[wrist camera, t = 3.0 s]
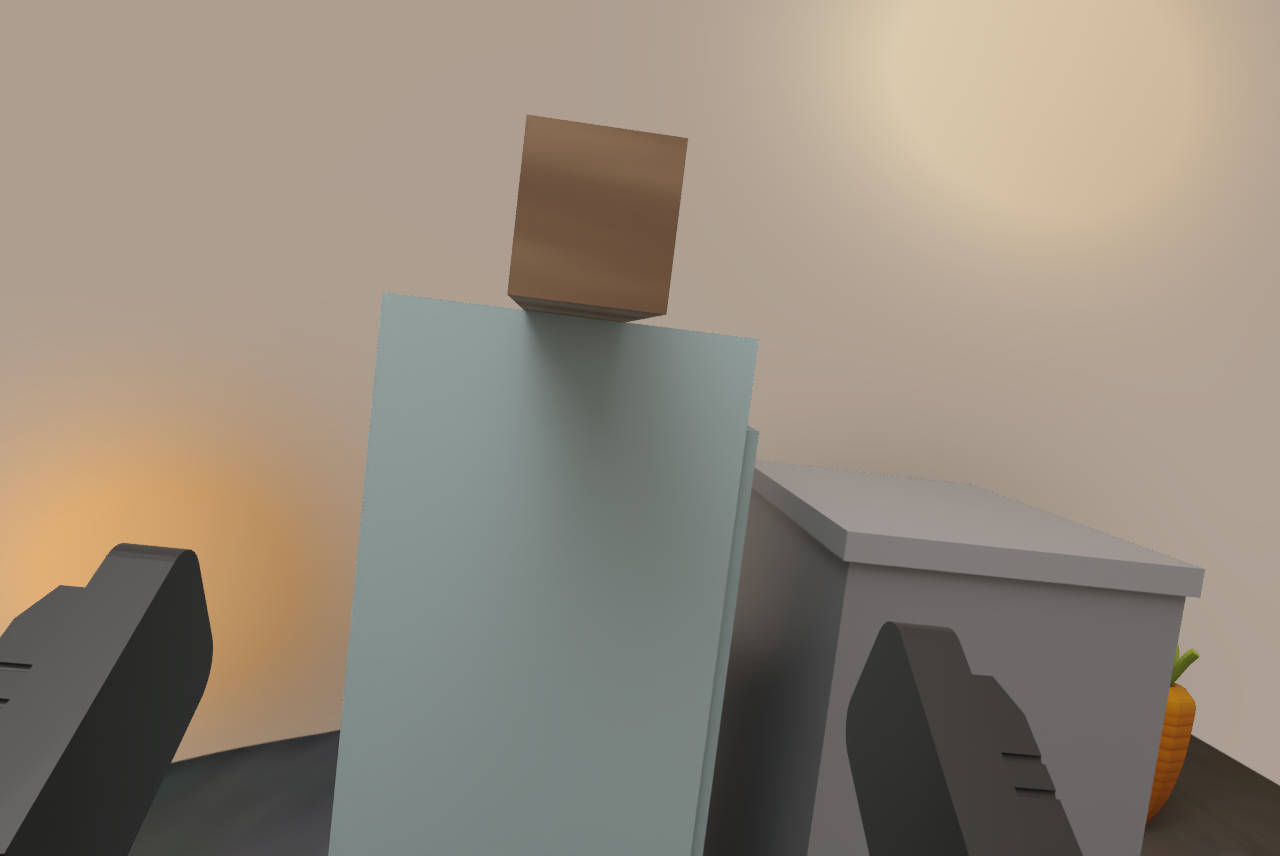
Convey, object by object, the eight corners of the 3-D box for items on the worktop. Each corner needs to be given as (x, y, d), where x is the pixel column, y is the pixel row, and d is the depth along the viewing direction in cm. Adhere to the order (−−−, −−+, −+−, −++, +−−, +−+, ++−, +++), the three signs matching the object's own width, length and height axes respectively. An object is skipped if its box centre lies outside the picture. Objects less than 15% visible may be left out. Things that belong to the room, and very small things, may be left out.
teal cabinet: (653, 1242, 33) (773, 340, 30) (292, 1229, 32) (382, 292, 29) (622, 923, 51) (696, 339, 48) (391, 908, 50) (453, 309, 47)
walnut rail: (666, 314, 19) (687, 138, 18) (507, 294, 18) (527, 114, 18) (598, 327, 46) (606, 257, 46) (534, 319, 46) (542, 248, 46)
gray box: (1081, 1264, 34) (1205, 568, 32) (744, 1253, 33) (847, 531, 31) (900, 938, 52) (970, 484, 50) (680, 923, 51) (741, 458, 49)
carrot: (1187, 848, 67) (1224, 648, 66) (1122, 842, 67) (1157, 641, 66) (1146, 813, 72) (1179, 627, 71) (1086, 808, 72) (1117, 621, 71)
